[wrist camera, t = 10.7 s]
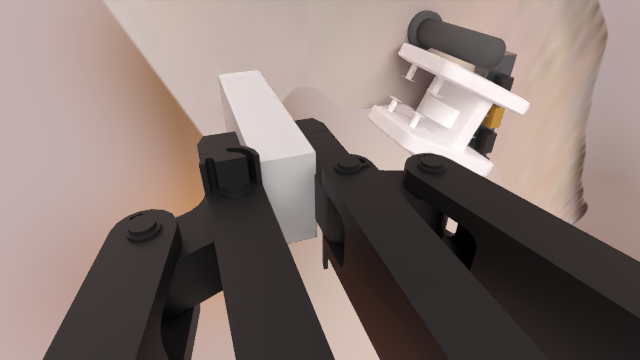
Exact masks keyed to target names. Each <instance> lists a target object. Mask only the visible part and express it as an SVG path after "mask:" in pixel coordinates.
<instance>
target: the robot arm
mask: <svg viewBox="0 0 640 360" xmlns="http://www.w3.org/2000/svg"><path fill="white" fill-rule="evenodd" d="M218 79H219V85H220V91H221V97H222V104H223V110H224V116H225V122H226V129H227V133H222V134H215V135H209V136H203V137H202V138H201V140H200V142H199V143H198V145H197V147H198V153H199V158H200V162H199V168H200V172H201V177H202V182H203V186H204V191H205V196H204V199H203V200H202V202H201V203H200V204H199V205H198V206H197V207H195V208H194V209H193V210H191V211H189V212H187V213H185V214H183V215H181V216H179V217H176V218H175V217H174V215H173V214H172V213H170V212H167V211H165V210H155V209H151V210H145V211H140V212H137V213H134V214H132V215H129V216H127V217H125V218H124V219H123V220H121V221H120V222H118V223H117V224H116V225H115V226H114V227H113V229H112V230H111V231H110V232H109V234H108V236H107V238H106V240H105V242H104V244H103V246H102V248H101V250H100V251H99V253H98V255H97V257H96V259H95V261H94V263H93V265H92V267H91V268H90V270H89V272H88V274H87V276H86V278H85V280H84V282H83V284H82V286H81V288H80V289H79V291H78V293H77V295H76V297H75V299H74V301H73V303H72V305H71V307H70V309H69V310H68V312H67V314H66V316H65V318H64V320H63V322H62V324H61V326H60V327H59V329H58V331H57V333H56V335H55V337H54V339H53V341H52V343H51V345H50V347H49V348H48V350H47V352H46V354H45V356H44V358H43V360H191V357H192V352H193V346H194V341H195V335H196V330H197V325H198V319H199V313H200V303H201V302H203V301H205V300H207V299H208V298H210V297H212V296H214V295H215V294H217V293H218V292H221V291H222V290H223V292H224V297H225V303H226V308H227V314H228V319H229V325H230V330H231V336H232V341H233V347H234V352H235V358H236V360H335V359H334V356H333V354H332V351H331V349H330V347H329V344H328V342H327V339H326V337H325V334H324V332H323V330H322V327H321V325H320V322H319V320H318V318H317V315H316V313H315V310H314V308H313V305H312V303H311V300H310V298H309V296H308V293H307V291H306V288H305V286H304V284H303V281H302V279H301V276H300V274H299V271H298V269H297V267H296V264H295V262H294V259H293V257H292V254H291V252H290V249H289V247H288V245H287V244H290V243H294V242H298V241H302V240H306V239H311V238H314V237H317V223H318V225H319V226H320V228H321V230H322V232H323V266H324V269H327V268H328V259H329V260H330V262H331V264H332V266H333V268H334V270H335V272H336V274H337V276H338V278H339V280H340V282H341V284H342V286H343V288H344V290H345V292H346V294H347V296H348V298H349V300H350V302H351V303H352V305H353V307H354V309H355V311H356V313H357V315H358V317H359V319H360V321H361V323H362V325H363V327H364V329H365V331H366V333H367V335H368V337H369V339H370V341H371V343H372V345H373V347H374V349H375V350H376V353H377V355H378V357H379V359H380V360H640V262H639V261H637V260H635V259H633V258H631V257H630V256H628V255H626V254H624V253H622V252H620V251H619V250H617V249H615V248H613V247H611V246H609V245H608V244H606V243H604V242H602V241H600V240H598V239H597V238H595V237H593V236H591V235H589V234H587V233H585V232H584V231H582V230H580V229H578V228H576V227H574V226H573V225H571V224H569V223H567V222H565V221H563V220H562V219H560V218H558V217H556V216H554V215H552V214H551V213H549V212H547V211H545V210H543V209H541V208H539V207H538V206H536V205H534V204H532V203H530V202H528V201H527V200H525V199H523V198H521V197H519V196H517V195H516V194H514V193H512V192H510V191H508V190H506V189H505V188H503V187H501V186H499V185H497V184H495V183H493V182H491V181H490V180H488V179H486V178H484V177H482V176H481V175H479V174H477V173H475V172H473V171H471V170H470V169H468V168H466V167H464V166H462V165H460V164H458V163H457V162H455V161H453V160H451V159H449V158H447V157H444V156H442V155H437V154H434V153H420V154H416V155H412V156H411V157H409V158H408V159H407V160H406V163H405V167H404V171H384V170H378V168H377V167H376V166H375V165H374V164H373V163H372V162H371V161H369V160H368V159H367V158H365V157H362V156H359V155H353V154H349V153H348V152H347V151H346V150H345V149H344V147H343V146H342V145H341V144H340V143H339V141H338V140H337V139H336V138H335V136H334V135H333V134H332V133H331V132H330V131H329V129H328V128H327V127H326V126H325V124H324V123H322V122H320V121H318V120H315V119H313V118H309V119H303V120H296V121H294V120H293V119H292V117H291V116H290V115H289V113H288V112H287V110H286V109H285V107H284V106H283V104H282V103H281V102H280V100H279V99H278V97H277V96H276V94H275V93H274V92H273V90H272V89H271V87H270V86H269V84H268V83H267V81H266V80H265V79H264V77H263V76H262V74H261V73H260V71H259V70H254V71H245V72H237V73H228V74H220V75H218ZM448 217H450V218H451V219H452V220H454V221H455V222H457V223H458V226H457V230H456V233H451V232H449V231H448V230H446V225H447V221H448Z"/></svg>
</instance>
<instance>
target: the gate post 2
mask: <svg viewBox="0 0 640 360" xmlns="http://www.w3.org/2000/svg"><path fill="white" fill-rule="evenodd" d="M408 40H409V42H410V44H411V45H413V46H416V47H418V48H421V49H423V50H427V49H430V48H433V49H436V50H438V51H441V52H443V53H446V54H448V55H451V56H453V57H456V58H458V59H461V60H463V61H466V62H468V63H471V64H473V65H476V66H478V67H481V68H483V69H486V70H490V69H493V68H495V67H496V66H497V65H498V64H499V63H500V62H501V61H502V59H503V57H504V55H505V51H506V46H505V42H504V41H503V40H502V39H500V38H497V37H493V36H490V35H486V34H483V33H480V32H476V31H473V30H470V29H466V28H463V27H459V26H456V25H453V24H449V23H446V22H443V21H442V19H441V17H440V16H439V15H438V14H437V13H435V12H432V11H422V12H420V13H418V14H417V15H416V16H415V17H414V18H413V19H412V21H411V23H410V25H409V28H408Z"/></svg>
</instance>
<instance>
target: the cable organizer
mask: <svg viewBox="0 0 640 360" xmlns="http://www.w3.org/2000/svg"><path fill="white" fill-rule="evenodd" d="M398 55H399V56H401V57H402V58H403V59H405V60H407V61H408V62H410V63H412V66H411V68H410V70H409V72H408V73H407V75H406V77H405V76H404V77H405V78H406V79H408V80H410V81H413V80H411V79H412V77H413V75H414V73H415V71H416V70H417V68H418V67H420V68H422V69H424V70H426V71H428V72H430V73H433V74H435V75H436V76H435V77H434V79H433V81H432V83H431V85H430V86H429V88H428V89H427V92H426V94H425V96H424V97H423V99H422V101H421V103H420V105H419V106H418V108H417V110H416V112H415V111H413V113H415V114H414V116H413V117H412V118H410V117H407V116H405V115H402V114H400V113H397V112H395V111H393V110H394V108H395V106H396V104H397V102H401V101H400V100H398V99H397V98H395V97H392V96H391V98H393V99H392V101H391V103H390V105H389V107H388V109H387V108H384V107H381V106H377V105H374V106H373V107H372V109H371V111H370V113H369V115H368V119H369V120H370V121H372V122H373V123H374V124H375V125H376V126H378V128H380V129H381V130H382V131H383V132H384V133H386V134H387V135H388V136H389V137H391V139H393V140H394V141H395V142H396V143H398V144H399V145H400V146H401V147H402V148H404V149H406V150H407V151H409V153H411V154H412V155H416V154H420V153H434V154H437V155H442V156H444V157H447V158H449V159H451V160H453V161H455V162H457V163H458V164H460V165H462V166H464V167H466V168H468V169H470V170H471V171H473V172H475V173H477V174H479V175H481V176H487V175H488V173H489V172H490V170H491V169H492V167H493V166H494V164H493V163H492V162H491V161H490V160H488V159H487V158H485V157H484V156H482V155H481V154H479V153H478V152H476V151H475V150H473V149H472V148H470V147H469V146H467V145H468V143H469V142H470V140H471V138H473V135H474V133H475V132H476V130H477V128H478V127H479V125H480V124H481V122H482V120H483V119H484V117H485V116H486V114H487V112H488V111H489V109H490V108H491V106H492V104H493V103H494V104H496V105H498V106H500V107H502V108H504V109H506V110H508V111H511V112H513V113H516V114H519V115H524V114H525V112H526V111H527V109H528V108H529V106H530V103H528V102H527V101H526V100H524V99H523V98H521V97H519V96H517V95H515V94H513V93H512V92H510V91H508V90H506V89H504V88H502V87H500V86H498V85H496V84H495V83H493V82H491V81H489V80H487V79H485V78H483V77H481V76H480V75H478V74H476V73H474V72H472V71H470V70H468V69H466V68H465V67H463V66H461V65H458V64H456V63H454V62H451V61H449V60H447V59H444V58H442V57H440V56H437V55H435V54H433V53H430V52H428V51H425V50H423V49H421V48H418V47H416V46H413V45H411V44H408V43H403V45H402V47H401V49H400V51H399V53H398ZM414 82H415V81H414ZM389 96H390V95H389ZM487 116H488V115H487ZM474 138H475V137H474Z"/></svg>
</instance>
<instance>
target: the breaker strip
mask: <svg viewBox="0 0 640 360" xmlns="http://www.w3.org/2000/svg"><path fill="white" fill-rule="evenodd" d="M516 56H517V54H514V53H511V52H508V51H505V55H504V57H503V59H502V61H501V62H500V63H499V64H498V65H497V66H496V67H495V68H493V69H490V70H486V69H483V68H481V67H478V66H476V68H475V72H474V73H476V74H478V75H480V76H481V77H483V78H485V79H487V80H489V81H491V82H493V83H495V84H496V85H498V86H500V87H502V88H504V89H506V90H508V91H510V90H511V87H512V84H513V81H514V78H513V77H511V72H512V69H513V66H514V63H515V59H516ZM504 110H505V109H504V108H502V107H500V106H498V105H496V104H494V103H493V104H492V106H491V108H490V109H489V111H488V112H487V114H486V116H485V117H484V119H483V120H482V122H481V124H480V125H479V127H478V128H477V130H476V132H475V133H474V135H473V138H471V140H470V142H469V143H468V145H467V146H469V147H470V148H472V149H473V150H475V151H476V152H478V153H479V154H481V155H482V156H484V157H485V158H487V159H488V160H489V158H488V157H487V156H486V155H487V153H491V152H492V149H493V145H494V142H495V139H496V136H497V133H495V132H494V129H495V128H497V127H499V126H500V123H501V119H502V116H503V113H504ZM487 115H488V116H487ZM474 137H475V138H474Z"/></svg>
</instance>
